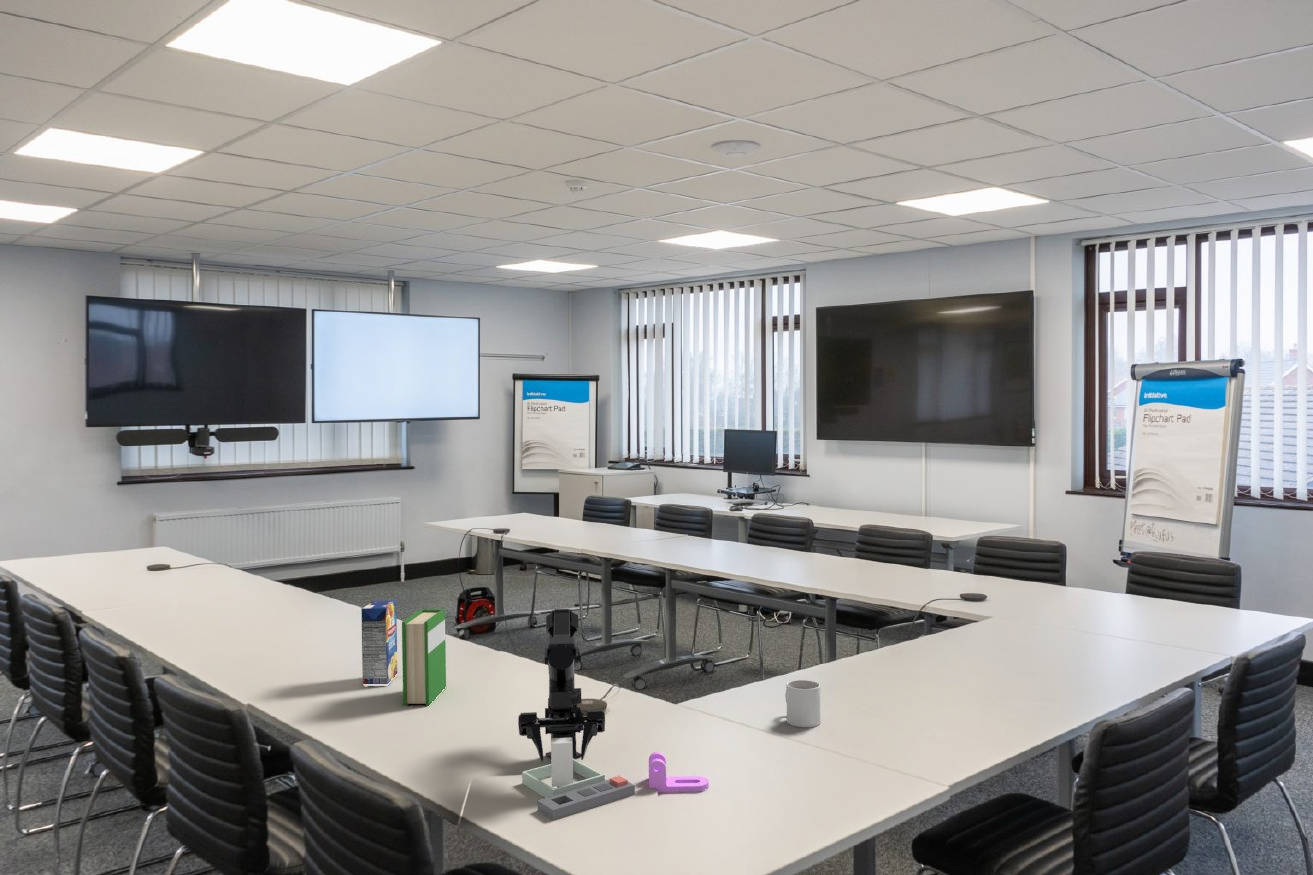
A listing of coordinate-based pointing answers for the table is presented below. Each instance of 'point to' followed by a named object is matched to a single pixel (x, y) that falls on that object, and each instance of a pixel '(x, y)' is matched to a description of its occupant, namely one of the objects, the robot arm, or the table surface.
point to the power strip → (586, 797)
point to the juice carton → (379, 642)
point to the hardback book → (423, 656)
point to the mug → (803, 703)
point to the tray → (533, 781)
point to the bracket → (672, 778)
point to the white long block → (561, 761)
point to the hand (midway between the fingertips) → (562, 759)
